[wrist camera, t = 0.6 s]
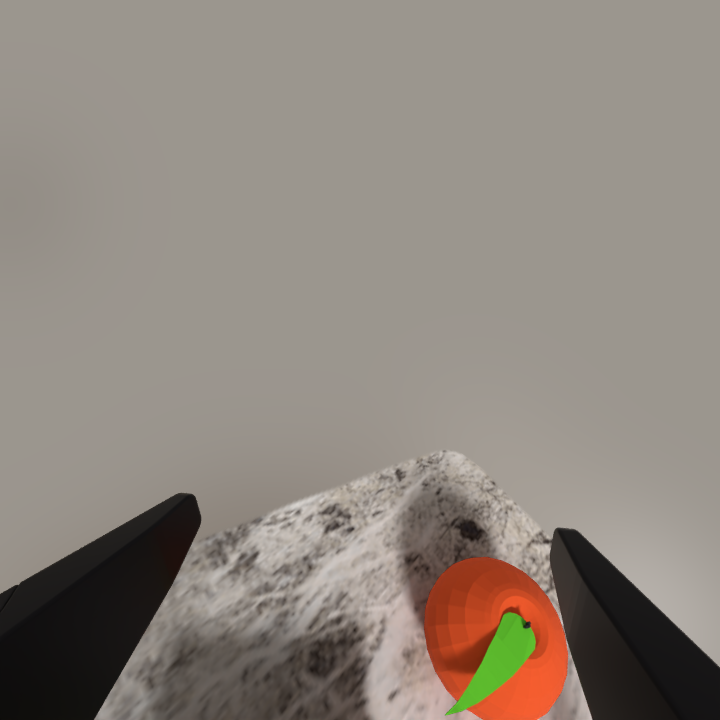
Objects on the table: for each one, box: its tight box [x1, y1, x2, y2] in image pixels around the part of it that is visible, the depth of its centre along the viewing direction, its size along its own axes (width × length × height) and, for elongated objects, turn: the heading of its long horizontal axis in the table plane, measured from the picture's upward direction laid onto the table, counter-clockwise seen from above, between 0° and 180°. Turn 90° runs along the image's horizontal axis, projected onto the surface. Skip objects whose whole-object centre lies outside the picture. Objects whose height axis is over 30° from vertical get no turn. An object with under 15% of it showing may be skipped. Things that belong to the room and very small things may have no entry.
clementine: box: [424, 557, 568, 720], centre depth 19 cm, size 8×7×7 cm
